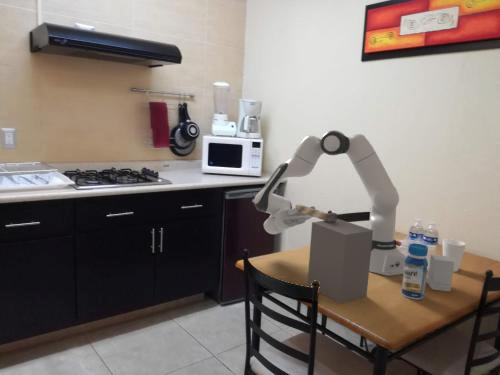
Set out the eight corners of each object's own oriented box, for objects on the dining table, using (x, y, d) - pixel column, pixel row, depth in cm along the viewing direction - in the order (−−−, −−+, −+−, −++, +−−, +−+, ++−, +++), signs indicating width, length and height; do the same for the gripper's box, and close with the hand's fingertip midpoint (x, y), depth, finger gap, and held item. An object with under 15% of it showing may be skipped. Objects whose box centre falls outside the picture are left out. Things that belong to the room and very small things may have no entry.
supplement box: (450, 292, 156) (454, 261, 154) (430, 289, 158) (434, 259, 156) (445, 284, 164) (449, 255, 161) (426, 282, 165) (430, 253, 163)
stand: (307, 285, 157) (312, 222, 152) (333, 279, 164) (338, 218, 160) (339, 303, 142) (345, 234, 137) (366, 296, 149) (373, 230, 145)
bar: (293, 210, 170) (294, 203, 169) (301, 209, 172) (301, 202, 171) (328, 222, 151) (329, 214, 151) (336, 221, 154) (337, 213, 153)
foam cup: (464, 269, 182) (468, 242, 180) (458, 274, 176) (462, 246, 173) (442, 263, 189) (446, 237, 186) (436, 268, 182) (439, 241, 180)
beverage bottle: (429, 299, 149) (435, 248, 145) (410, 301, 146) (416, 250, 143) (414, 289, 157) (419, 241, 153) (396, 291, 154) (401, 242, 151)
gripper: (266, 213, 173) (283, 203, 162) (302, 209, 184) (321, 200, 172) (270, 227, 171) (287, 218, 160) (306, 222, 182) (325, 214, 171)
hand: (305, 209), depth 166 cm, fingers open, 8 cm apart
